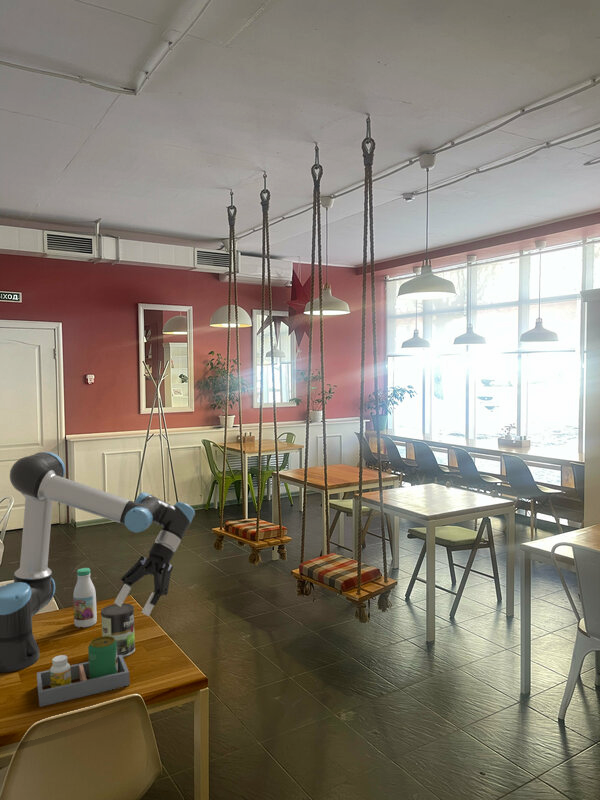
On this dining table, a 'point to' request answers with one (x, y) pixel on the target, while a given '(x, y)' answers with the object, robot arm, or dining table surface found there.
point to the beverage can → (102, 657)
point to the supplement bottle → (60, 671)
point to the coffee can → (120, 627)
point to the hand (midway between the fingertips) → (130, 609)
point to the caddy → (80, 683)
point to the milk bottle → (84, 600)
